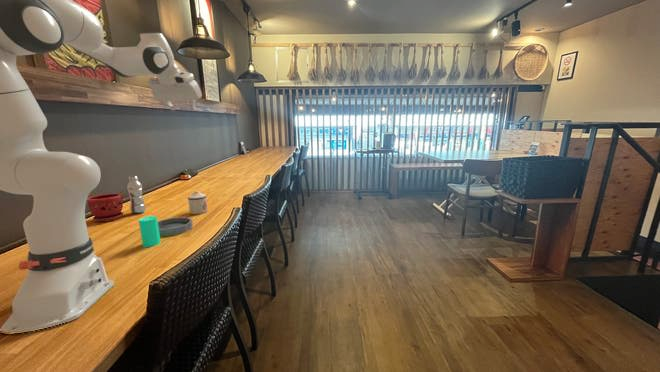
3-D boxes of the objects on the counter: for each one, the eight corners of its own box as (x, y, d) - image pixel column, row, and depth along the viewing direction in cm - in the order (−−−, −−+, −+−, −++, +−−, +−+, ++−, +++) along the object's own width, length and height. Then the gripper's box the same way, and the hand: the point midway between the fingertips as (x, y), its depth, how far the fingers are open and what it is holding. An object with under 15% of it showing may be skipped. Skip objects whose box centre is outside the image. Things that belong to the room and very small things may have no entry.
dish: (190, 233, 113) (189, 226, 112) (148, 238, 107) (147, 231, 107) (194, 221, 127) (193, 215, 126) (157, 225, 121) (156, 219, 121)
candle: (151, 247, 99) (147, 217, 97) (138, 246, 100) (133, 216, 98) (164, 241, 105) (160, 212, 102) (151, 239, 106) (147, 211, 103)
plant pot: (131, 215, 135) (128, 193, 132) (104, 224, 123) (100, 200, 120) (112, 213, 138) (108, 192, 136) (84, 222, 126) (79, 198, 123)
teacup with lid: (207, 213, 139) (205, 192, 137) (188, 215, 136) (186, 194, 133) (208, 207, 150) (206, 187, 147) (190, 209, 146) (187, 189, 144)
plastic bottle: (133, 211, 142) (127, 175, 137) (148, 210, 144) (142, 175, 139) (128, 215, 136) (122, 177, 131) (143, 214, 138) (137, 177, 133)
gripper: (141, 80, 105) (158, 113, 113) (188, 78, 102) (201, 111, 111) (151, 76, 110) (166, 107, 118) (196, 73, 107) (208, 106, 116)
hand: (183, 109), depth 115 cm, fingers open, 8 cm apart
